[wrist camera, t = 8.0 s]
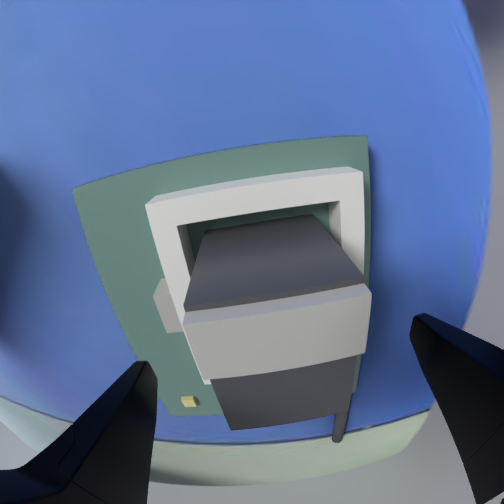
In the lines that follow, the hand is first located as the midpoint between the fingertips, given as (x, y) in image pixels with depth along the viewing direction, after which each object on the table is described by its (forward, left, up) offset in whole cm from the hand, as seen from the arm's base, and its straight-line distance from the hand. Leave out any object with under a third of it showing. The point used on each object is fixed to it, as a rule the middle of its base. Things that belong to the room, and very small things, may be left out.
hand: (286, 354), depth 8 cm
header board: (-2, +2, -6) cm, 7 cm away
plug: (0, 0, -5) cm, 5 cm away
